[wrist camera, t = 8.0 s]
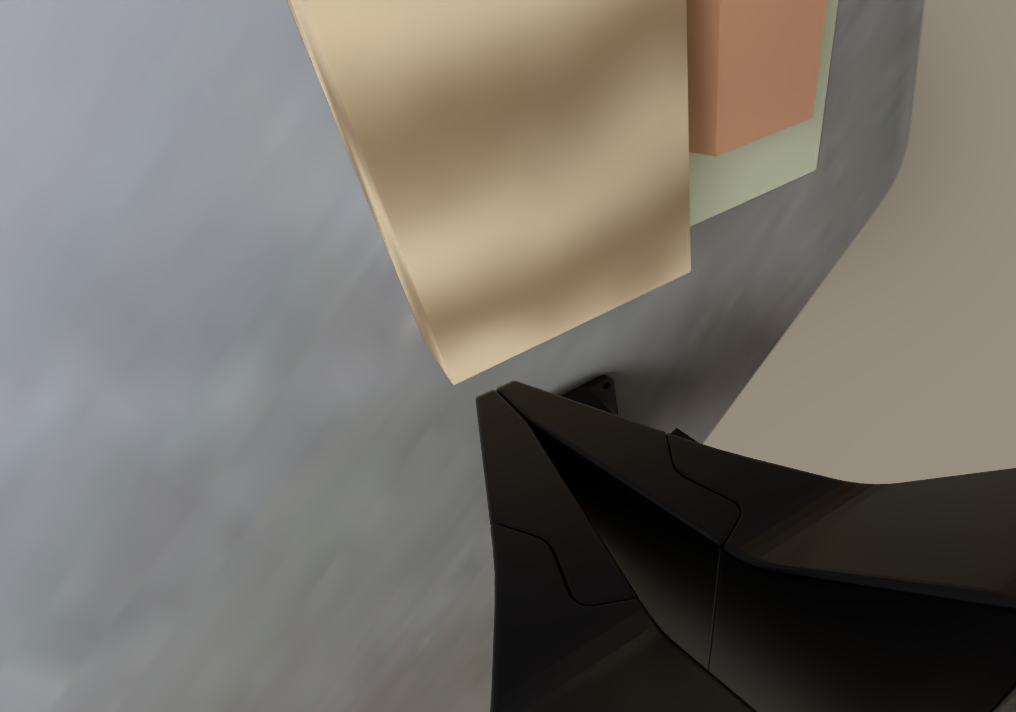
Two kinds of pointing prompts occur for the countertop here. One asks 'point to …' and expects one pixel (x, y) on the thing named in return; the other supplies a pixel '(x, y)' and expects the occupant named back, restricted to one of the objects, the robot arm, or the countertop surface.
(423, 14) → the tan wooden flat block
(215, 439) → the countertop surface
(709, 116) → the tile
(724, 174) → the mat
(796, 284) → the countertop surface
